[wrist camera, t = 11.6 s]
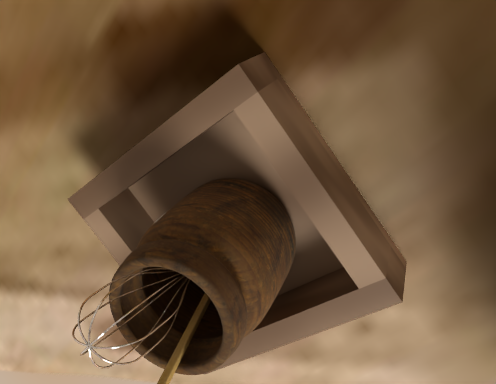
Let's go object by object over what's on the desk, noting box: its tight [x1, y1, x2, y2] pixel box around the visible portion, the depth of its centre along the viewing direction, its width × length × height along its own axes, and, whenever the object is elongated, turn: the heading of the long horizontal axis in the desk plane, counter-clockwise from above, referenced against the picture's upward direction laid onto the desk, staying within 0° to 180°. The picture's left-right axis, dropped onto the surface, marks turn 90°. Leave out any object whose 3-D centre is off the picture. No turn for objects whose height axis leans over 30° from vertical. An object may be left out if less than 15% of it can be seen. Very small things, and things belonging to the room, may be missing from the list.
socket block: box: [68, 52, 406, 374], centre depth 22 cm, size 11×11×4 cm
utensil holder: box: [72, 178, 296, 384], centre depth 18 cm, size 6×6×12 cm
